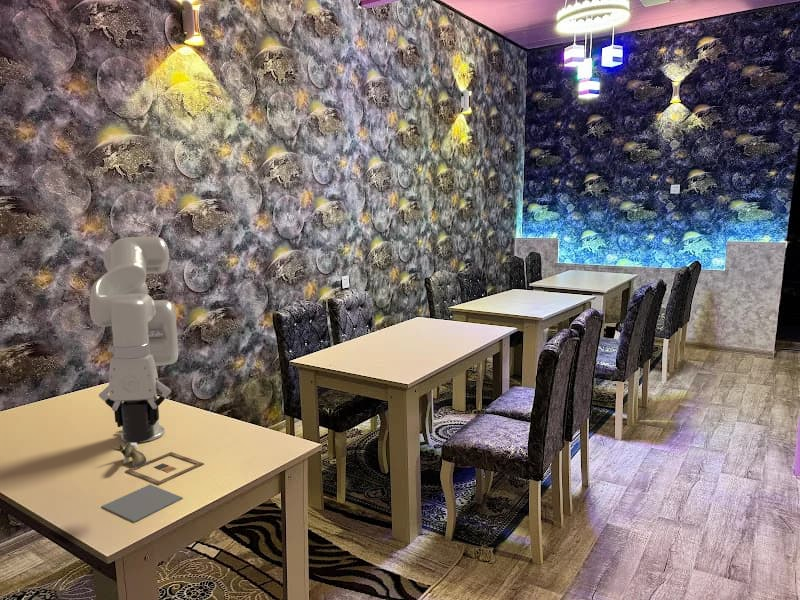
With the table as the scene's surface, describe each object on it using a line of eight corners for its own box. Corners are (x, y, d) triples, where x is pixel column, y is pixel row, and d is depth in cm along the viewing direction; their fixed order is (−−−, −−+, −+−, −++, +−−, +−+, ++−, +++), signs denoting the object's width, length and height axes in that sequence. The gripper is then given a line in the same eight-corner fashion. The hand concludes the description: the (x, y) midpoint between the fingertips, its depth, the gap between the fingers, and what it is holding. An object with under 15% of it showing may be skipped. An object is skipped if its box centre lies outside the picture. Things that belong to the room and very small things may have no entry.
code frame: (125, 471, 157) (125, 470, 157) (171, 452, 169) (170, 451, 169) (158, 485, 150) (158, 483, 150) (204, 464, 162) (203, 463, 162)
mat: (101, 507, 139) (101, 506, 138) (150, 485, 149) (150, 484, 149) (134, 522, 132) (134, 521, 132) (182, 498, 143) (182, 497, 143)
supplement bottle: (145, 430, 143) (142, 383, 142) (159, 437, 139) (156, 388, 137) (117, 438, 138) (113, 390, 136) (131, 446, 134) (127, 396, 132)
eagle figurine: (105, 460, 161) (120, 462, 156) (115, 435, 164) (130, 436, 158) (131, 467, 166) (146, 469, 161) (140, 442, 169) (155, 443, 163)
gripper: (86, 356, 130) (93, 432, 133) (166, 353, 133) (171, 427, 136) (98, 348, 138) (104, 420, 141) (174, 346, 140) (179, 416, 143)
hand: (137, 423), depth 138 cm, fingers closed on supplement bottle, 6 cm apart
